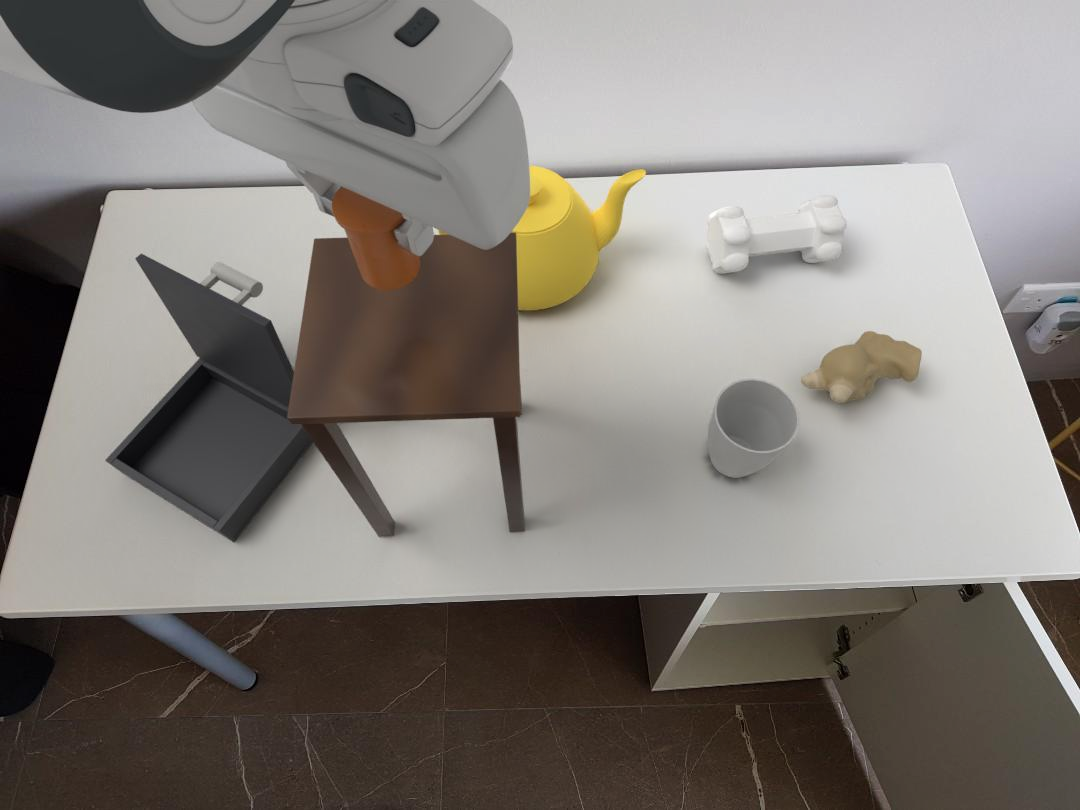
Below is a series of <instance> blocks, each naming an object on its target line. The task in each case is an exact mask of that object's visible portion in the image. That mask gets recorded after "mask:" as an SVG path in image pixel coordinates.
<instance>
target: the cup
mask: <svg viewBox="0 0 1080 810" xmlns="http://www.w3.org/2000/svg"><path fill="white" fill-rule="evenodd" d="M799 427H800V416H799V411H798V409H797V406H796V403H795V402H794V400H793V399H792V397H791V396H790V395H789V394H788V393H787V392H786V391H785V390H784V389H782V388H781V387H780V386H779V385H776V384H775V383H772V382H770V381H767V380H765V379H760V378H743V379H742V378H741V379H738V380H735V381H733V382H731V383H729V384H728V385H726V386H725V387H724V388H722V390H721V391H720V392H719V393H718V395H717V397H716V400H715V402H714V406H713V408H712V413H711V416H710V418H709V423H708V429H707V442H706V443H707V451H708V455H709V459H710V462H711V464H712V466H713V467H714V469H715V470H716V471H717V472H719V473H720V474H721V475H723V476H726V477H728V478H735V479H736V478H737V479H738V478H743V477H746V476H751V475H754V474H755V473H758V472H759V471H761V470H763V469H764V468H765V467H766V466H768V465H770V464H771V463H772V462H773V461H774V460H776V459H777V458H778V456H780V455H781V454H782V452H783V451H784V450H786V448H787V447H788V446H789V445H790V443H792V441H793V440H794V439H795V437H796V436H797V433H798V431H799Z"/></svg>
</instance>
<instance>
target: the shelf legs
mask: <svg viewBox="0 0 1080 810" xmlns="http://www.w3.org/2000/svg"><path fill="white" fill-rule="evenodd" d="M521 388H522V385H521V383H520V405H521V416H523V405H522V404H523V402H522V389H521ZM517 418H518V417H503V418H492V420H493V427H494V436H495V443H496V448H497V449H496V450H497V454H498V463H499V468H500V469H499V470H500V476H501V483H502V489H503V498H504V501H505V502H504V503H505V510H506V517H507V524H508V530H509V531H508V532H509V533H522V532H523V533H524V532H525V531H526V527H525V525H526V524H525V523H526V521H525V520H526V519H525V506H524V495H523V483H522V481H523V479H522V470H521V469H522V468H521V456H520V455H521V454H520V445H519V444H520V443H519V432H518V431H519V430H518V419H517ZM301 425H302V426H303V428H304V429H305V431H306V432H307V433H308V435H309V436H310V438H311V439H312V441H313V444H314V445H315V446H316V448H317V450H318V451H319V452H320V454H321V455H322V457H323V458H324V460H325V461H326V463H327V465H328V466H329V467H330V468H331V470H332V471H333V473H334V474H335V476H336V477H337V479H338V480H339V481H340V484H342V486H343V487H344V489H345V491H347V494H349V496H350V497H351V498H352V500H353V502H354V503H355V504H356V506H357V508H358V509H359V510H360V512H361V514H362V515H363V517H364V518H365V519H366V521H367V522H368V524H369V525H370V526H371V528H372V529H373V531H374V532H375V534H376V535H377V537H379V538H381V537H383V538H385V537H394V536H395V525H396V524H395V523H396V521H395V520H394V518H393V516H392V514H391V513H390V511H389V509H388V508H387V506H386V504H385V502H384V501H383V499H382V497H381V495H380V494H379V492H378V490H377V489H376V487H375V486H374V484H373V482H372V480H371V479H370V477H369V475H368V474H367V471H366V470H365V468H364V467H363V465H362V463H361V462H360V459H359V458H358V456H357V454H356V453H355V451H354V450H353V448H352V445H350V443H349V441H348V440H347V437H346V436H345V434H344V432H343V431H342V429H341V427H340V426H339V423H322V424H301Z"/></svg>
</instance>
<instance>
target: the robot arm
mask: <svg viewBox="0 0 1080 810" xmlns="http://www.w3.org/2000/svg"><path fill="white" fill-rule="evenodd" d="M513 57H514V42H513V36H512V34H511V31H510V29H509V27H508V26H507V25H506V24H505V23H504V22H503V21H502V20H501V19H500V18H498V16H496V15H494V14H493V13H492V12H490V10H488V9H486V8H485V7H483V6H482V5H481V4H479V3H477V2H476V1H475V0H0V72H2V73H6V74H8V75H11V76H13V77H15V78H19V79H22V80H24V81H27V82H30V83H33V84H35V85H38V86H42V87H43V88H47V89H50V90H52V91H55V92H58V93H61V94H64V95H66V96H70V97H72V98H75V99H78V100H82V101H86V102H89V103H93V104H96V105H99V106H101V107H105V108H107V109H112V110H115V111H120V112H126V113H134V114H136V113H138V114H146V113H147V114H148V113H151V114H152V113H159V112H165V111H169V110H172V109H176V108H177V109H178V108H179V107H183V106H184V105H187V104H189V103H191V102H192V105H193V106H194V108H195V110H196V111H197V112H198V114H199V115H200V116H201V117H202V119H203V120H205V121H206V123H207V124H208V125H209V126H210V127H211V128H212V129H214V131H216V132H219V133H220V134H222V135H225V136H227V137H230V138H232V139H235V140H236V141H239V142H241V143H243V144H245V145H248V146H250V147H252V148H254V149H256V150H258V151H261V152H263V153H266V154H268V155H270V156H272V157H275V158H277V159H278V160H281V161H284V162H285V163H286V166H287V168H288V169H289V170H290V171H291V172H292V173H293V174H294V176H295V177H296V178H297V179H298V180H299V181H300V182H301V184H303V186H304V187H305V188H306V189H307V190H308V191H309V192H310V193H311V194H312V195H313V197H314V201H315V203H316V205H317V207H318V210H319V211H320V212H321V213H323V214H327V215H329V216H331V217H334V215H333V211H332V201H333V197H334V195H335V193H336V192H337V190H338V189H339V188H340V187H341V186H342V187H344V188H346V189H348V190H351V191H353V192H355V193H357V194H360V195H362V196H364V197H366V198H369V199H371V200H373V201H375V202H378V203H380V204H382V205H384V206H387V207H389V208H391V209H393V210H395V211H398V212H400V213H402V216H403V218H404V221H403V222H401V223H400V224H399V225H398V226H397V227H396V228H395V229H394V233H395V237H396V239H397V240H398V242H397V244H398V246H399V247H401V248H403V249H405V250H407V251H409V252H411V253H413V254H415V255H417V256H422V255H423V254H424V252H425V251H426V250H427V249H428V247H429V246H430V245H431V244H432V242H433V239H434V235H435V232H434V229H436V230H437V231H438V230H440V231H443V232H445V233H447V234H449V235H451V236H454V237H456V238H458V239H460V240H463V241H465V242H467V243H469V244H471V245H473V246H476V247H478V248H480V249H483V250H488V249H491V248H493V247H495V246H497V245H498V244H500V243H501V242H502V241H504V240H505V238H506V237H507V236H508V235H509V234H510V233H511V232H512V230H513V229H514V228H515V227H516V225H517V224H518V222H519V221H520V219H521V218H522V216H523V215H524V213H525V211H526V209H527V207H528V204H529V201H530V169H529V166H530V158H529V157H530V156H529V149H528V142H527V141H528V140H527V134H526V128H525V122H524V117H523V114H522V110H521V108H520V105H519V102H518V100H517V98H516V97H515V95H514V93H513V91H512V90H511V88H510V87H509V86H508V85H507V84H506V83H505V82H504V81H503V80H502V77H503V76H504V75H505V73H506V71H507V70H508V69H509V67H510V65H511V63H512V61H513ZM334 218H335V217H334Z"/></svg>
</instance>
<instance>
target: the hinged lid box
mask: <svg viewBox="0 0 1080 810" xmlns="http://www.w3.org/2000/svg"><path fill="white" fill-rule="evenodd" d="M288 408H289V407H288V406H286V405H285V404H283V403H281V402H279V401H277V400H276V399H274V398H272V397H270V396H268V395H266V394H265V393H263V392H261V391H259V390H257V389H256V388H254V387H252V386H250V385H248V384H246V383H245V382H243V381H241V380H239V379H237V378H235V377H234V376H232V375H230V374H228V373H226V372H225V371H223V370H221V369H219V368H217V367H215V366H214V365H212V364H210V363H208V362H206V361H205V360H203V359H201V358H199V357H198V359H197V360H196V362H195V363H193V365H192V366H190V368H189V369H188V370H187V371H186V372H185V373H184V375H182V377H180V379H179V380H178V381H177V382H176V383H175V384H174V385H173V386H172V387H171V388H170V389H169V390H168V392H167V393H165V395H164V396H163V397H162V398H161V399H159V401H158V402H157V403H156V404H155V405H154V406H153V408H152V409H151V410H149V412H148V413H147V414H146V416H145V417H144V418H143V419H142V420H141V421H140V422H139V423H138V424H137V425H136V426H135V427H134V428H133V430H132V431H131V432H130V433H129V434H127V436H126V437H125V438H124V439H123V440H122V442H120V444H119V445H117V447H116V448H115V449H114V450H113V451H112V452H111V453H110V454H109V455H108V457H106V459H104V460H105V461H104V462H106V463H107V464H109V465H110V466H112V467H113V468H114V469H116V470H117V471H119V472H120V473H121V474H122V475H124V476H125V477H127V478H129V479H131V480H132V481H134V482H135V483H137V484H138V485H140V486H142V487H143V488H145V489H146V490H148V491H149V492H152V493H153V494H155V495H156V496H158V497H160V498H161V499H163V500H165V501H166V502H168V503H170V504H171V505H173V506H174V507H176V508H177V509H178V510H181V511H182V512H183V513H186V514H187V515H189V516H190V517H192V518H194V519H195V520H197V521H198V522H200V523H202V524H203V525H205V526H206V527H208V528H209V529H211V530H213V531H214V532H216V533H218V534H220V535H221V536H222V537H224V538H225V539H227V540H229V541H231V542H232V543H235V542H236V541H237V539H238V538H239V537H240V536H241V534H242V533H243V532H244V531H245V529H246V528H247V527H248V525H249V524H250V523H251V521H253V519H254V518H255V517H256V515H257V514H258V513H259V512H260V510H261V509H262V508H263V507H264V506H265V504H266V502H267V501H268V500H269V499H270V498H271V496H272V495H273V494H274V492H275V491H276V490H277V489H278V487H279V486H280V485H281V483H283V482H284V480H285V478H286V477H287V476H288V475H289V474H290V472H291V471H292V470H293V468H294V467H295V466H296V464H298V462H299V460H300V459H301V458H302V457H303V455H305V453H306V451H308V449H309V448H310V447H311V445H312V444H314V442H313V441H312V439H311V438H310V436H309V435H308V433H307V432H306V431H305V429H304V428H303V426H302V425H301V424H291V423H290V422H289V420H288V419H287V415H288Z"/></svg>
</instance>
